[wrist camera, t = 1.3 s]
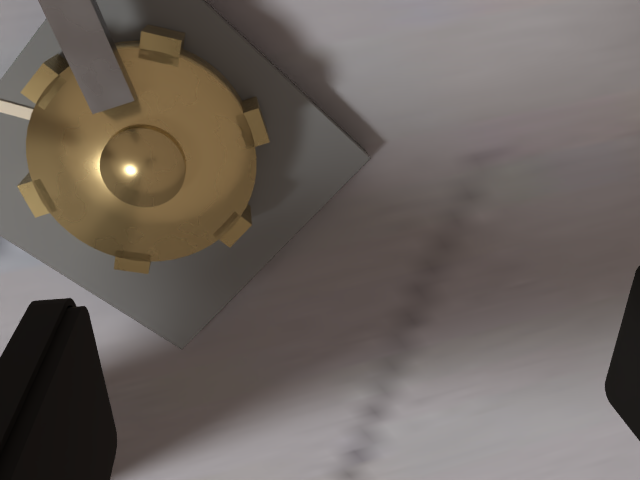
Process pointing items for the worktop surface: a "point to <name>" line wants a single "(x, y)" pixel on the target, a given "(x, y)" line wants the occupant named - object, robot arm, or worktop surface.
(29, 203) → the gold domed lever dial
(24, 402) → the robot arm
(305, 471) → the worktop surface
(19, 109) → the base plate
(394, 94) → the worktop surface
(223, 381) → the worktop surface
